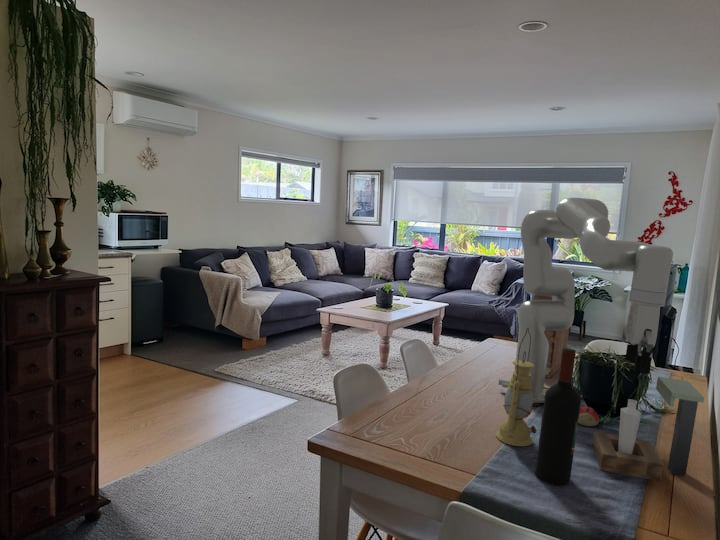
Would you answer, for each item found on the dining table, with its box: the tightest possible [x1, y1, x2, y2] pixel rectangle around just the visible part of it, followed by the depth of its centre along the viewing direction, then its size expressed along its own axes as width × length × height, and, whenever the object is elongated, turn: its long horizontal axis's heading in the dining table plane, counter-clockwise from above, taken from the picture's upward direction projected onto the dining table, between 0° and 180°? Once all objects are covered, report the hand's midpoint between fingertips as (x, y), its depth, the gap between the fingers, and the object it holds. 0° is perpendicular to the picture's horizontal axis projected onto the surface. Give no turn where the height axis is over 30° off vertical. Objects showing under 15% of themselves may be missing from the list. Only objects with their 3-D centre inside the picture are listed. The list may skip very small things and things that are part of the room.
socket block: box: [591, 431, 664, 482], centre depth 130 cm, size 13×13×4 cm
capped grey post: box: [655, 376, 705, 477], centre depth 127 cm, size 7×12×21 cm, turn 164°
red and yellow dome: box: [578, 406, 600, 427], centre depth 155 cm, size 7×10×4 cm
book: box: [533, 295, 571, 379], centre depth 202 cm, size 25×9×30 cm, turn 147°
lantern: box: [495, 328, 537, 447], centre depth 137 cm, size 12×10×30 cm
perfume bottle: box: [618, 398, 642, 454], centre depth 130 cm, size 5×4×15 cm
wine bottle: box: [534, 347, 582, 487], centre depth 119 cm, size 8×8×30 cm
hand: (636, 366), depth 128 cm, fingers open, 9 cm apart
